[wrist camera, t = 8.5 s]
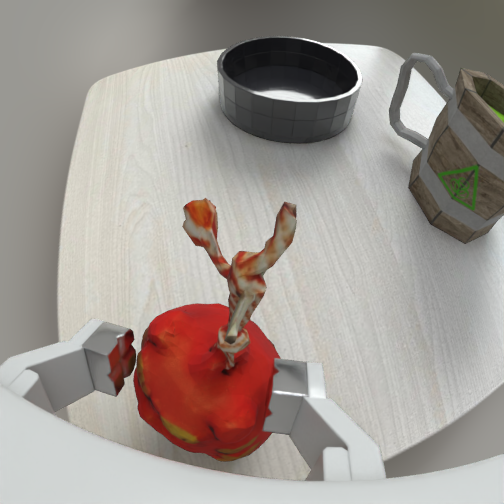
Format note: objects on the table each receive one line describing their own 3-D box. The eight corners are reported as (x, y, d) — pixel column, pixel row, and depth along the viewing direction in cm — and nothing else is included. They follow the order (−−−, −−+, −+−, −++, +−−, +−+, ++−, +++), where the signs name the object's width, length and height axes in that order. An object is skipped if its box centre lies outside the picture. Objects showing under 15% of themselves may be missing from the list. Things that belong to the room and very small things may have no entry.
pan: (205, 134, 28) (199, 93, 23) (235, 64, 34) (233, 32, 29) (356, 155, 27) (370, 116, 22) (347, 79, 33) (354, 47, 28)
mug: (499, 206, 25) (559, 138, 14) (469, 266, 22) (557, 189, 11) (400, 116, 30) (432, 33, 19) (348, 151, 27) (382, 43, 16)
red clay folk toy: (135, 368, 17) (-76, 281, 3) (223, 300, 19) (195, 76, 5) (216, 465, 14) (154, 647, 1) (306, 392, 16) (511, 372, 3)
